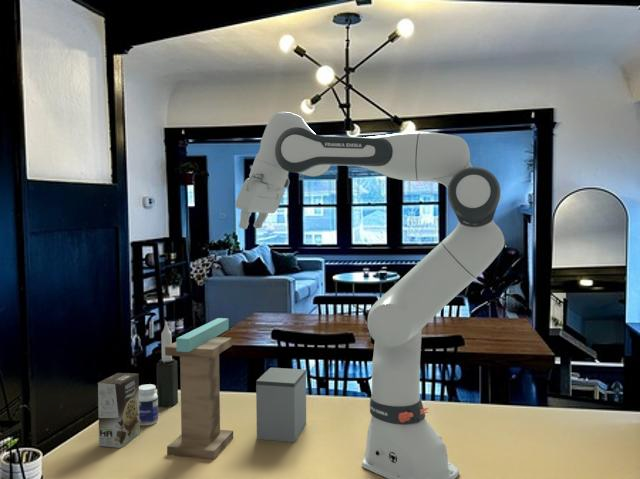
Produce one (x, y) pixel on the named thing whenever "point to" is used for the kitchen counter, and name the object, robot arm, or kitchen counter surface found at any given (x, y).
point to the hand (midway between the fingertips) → (249, 228)
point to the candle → (167, 374)
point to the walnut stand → (200, 401)
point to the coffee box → (118, 409)
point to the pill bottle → (148, 405)
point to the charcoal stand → (281, 404)
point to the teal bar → (202, 334)
